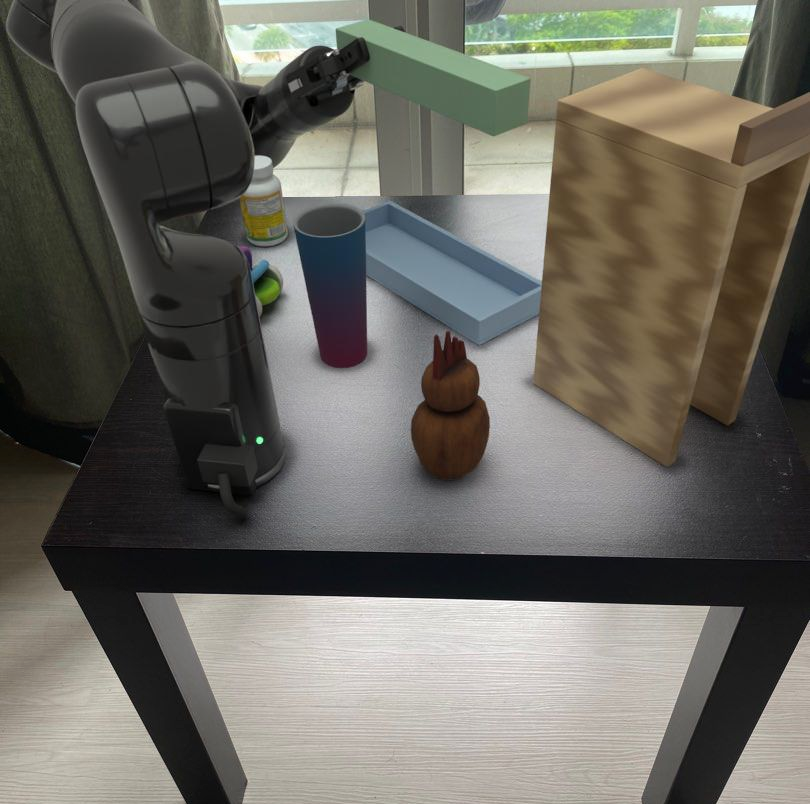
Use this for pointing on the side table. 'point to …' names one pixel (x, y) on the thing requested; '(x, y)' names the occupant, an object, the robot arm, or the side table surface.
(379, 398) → the side table surface
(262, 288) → the multicolored plastic toy
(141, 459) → the side table surface
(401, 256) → the tray
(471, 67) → the long sage green bar
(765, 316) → the stand
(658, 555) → the side table surface
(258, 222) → the supplement bottle
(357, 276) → the cup
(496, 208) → the side table surface
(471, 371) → the wooden figurine
